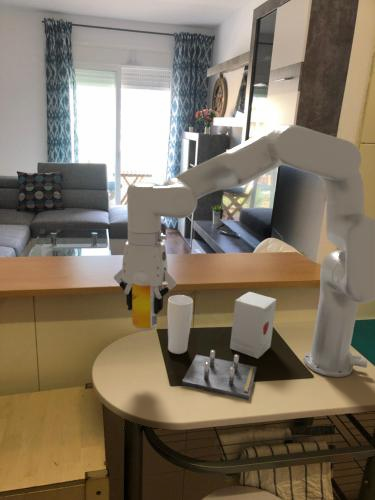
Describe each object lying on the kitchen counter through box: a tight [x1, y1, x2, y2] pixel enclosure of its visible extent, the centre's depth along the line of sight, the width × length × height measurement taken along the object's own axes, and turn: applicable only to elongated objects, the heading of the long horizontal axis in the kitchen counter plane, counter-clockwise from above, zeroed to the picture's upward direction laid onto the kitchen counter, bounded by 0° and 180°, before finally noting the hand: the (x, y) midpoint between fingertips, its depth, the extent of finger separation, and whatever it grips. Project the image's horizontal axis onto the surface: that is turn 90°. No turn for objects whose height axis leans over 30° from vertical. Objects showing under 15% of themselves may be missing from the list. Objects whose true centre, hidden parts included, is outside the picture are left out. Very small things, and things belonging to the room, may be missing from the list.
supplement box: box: [229, 291, 277, 360], centre depth 117 cm, size 9×9×15 cm
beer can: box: [131, 271, 159, 332], centre depth 100 cm, size 6×6×15 cm
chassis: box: [181, 349, 257, 401], centre depth 103 cm, size 16×13×5 cm
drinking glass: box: [166, 294, 194, 355], centre depth 114 cm, size 7×7×15 cm
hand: (144, 309), depth 101 cm, fingers closed on beer can, 6 cm apart
